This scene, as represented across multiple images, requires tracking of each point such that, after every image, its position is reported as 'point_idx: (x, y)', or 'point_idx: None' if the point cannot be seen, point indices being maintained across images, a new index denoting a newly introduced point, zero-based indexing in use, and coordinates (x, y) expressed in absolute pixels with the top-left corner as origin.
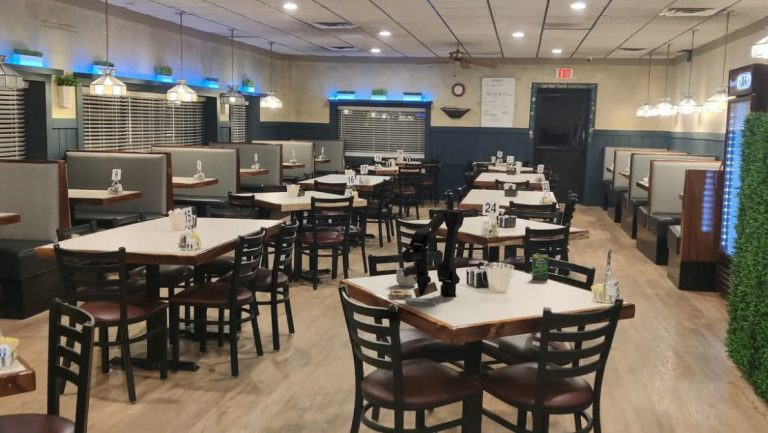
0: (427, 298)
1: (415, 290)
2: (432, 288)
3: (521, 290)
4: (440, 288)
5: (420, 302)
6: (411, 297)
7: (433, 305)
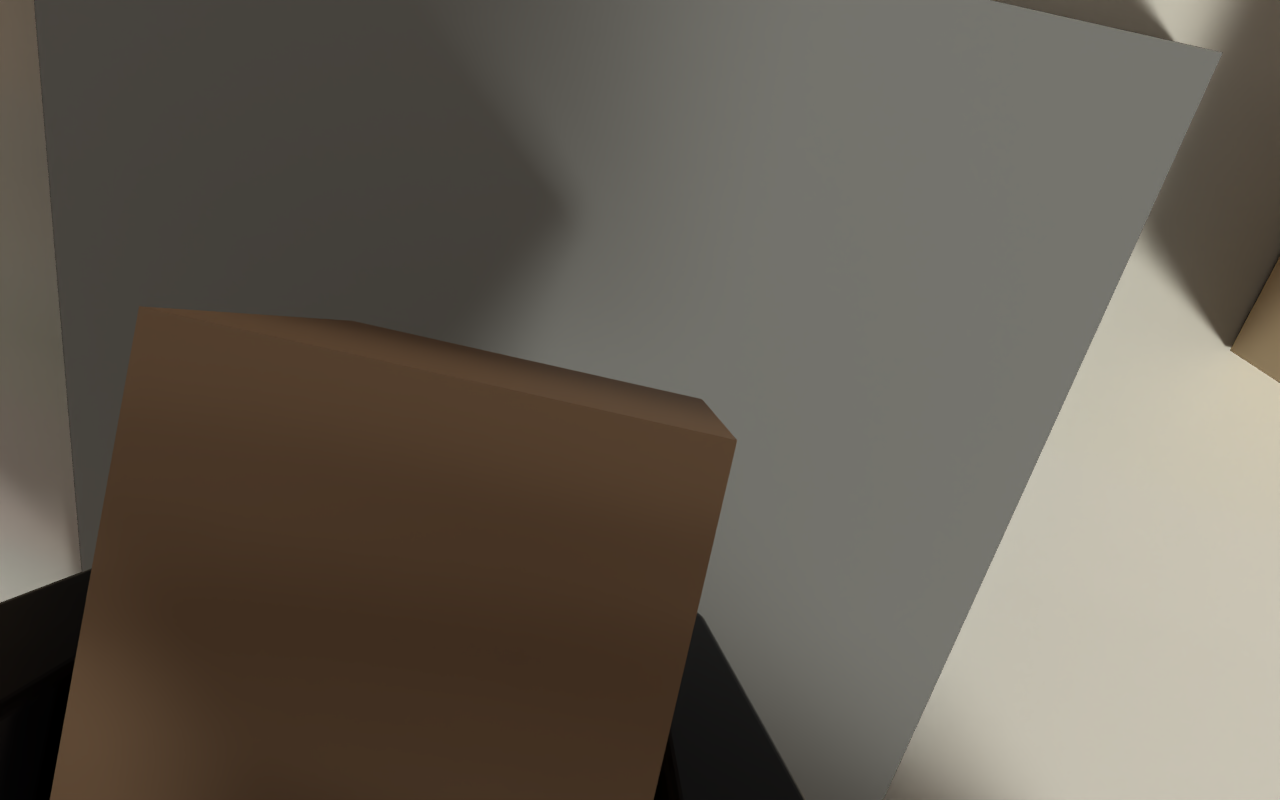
0: (853, 762)
1: (126, 419)
2: None
3: None
4: None
5: None
6: (1267, 361)
7: None
